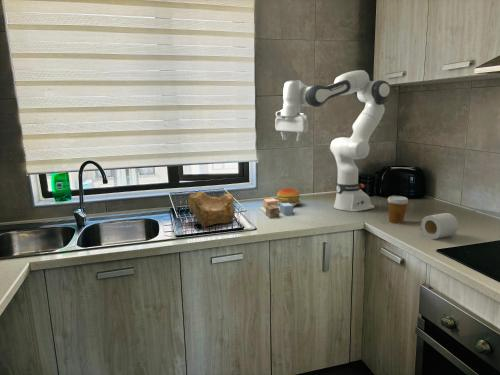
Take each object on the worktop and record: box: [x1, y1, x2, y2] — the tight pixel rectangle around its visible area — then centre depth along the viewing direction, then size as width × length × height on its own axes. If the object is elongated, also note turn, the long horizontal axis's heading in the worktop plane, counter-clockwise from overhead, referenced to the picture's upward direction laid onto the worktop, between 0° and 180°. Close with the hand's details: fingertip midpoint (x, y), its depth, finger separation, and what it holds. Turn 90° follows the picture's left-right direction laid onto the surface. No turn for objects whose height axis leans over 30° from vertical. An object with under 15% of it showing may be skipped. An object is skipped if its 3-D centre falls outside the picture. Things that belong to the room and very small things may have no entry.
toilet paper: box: [420, 212, 459, 240], centre depth 158 cm, size 10×10×10 cm
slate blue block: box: [279, 203, 294, 216], centre depth 197 cm, size 5×6×5 cm
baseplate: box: [258, 206, 280, 215], centre depth 203 cm, size 10×10×1 cm
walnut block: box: [265, 205, 280, 219], centre depth 192 cm, size 5×6×5 cm
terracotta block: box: [263, 197, 279, 209], centre depth 202 cm, size 6×6×5 cm
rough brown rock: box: [187, 191, 235, 228], centre depth 180 cm, size 23×17×15 cm
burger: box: [276, 187, 301, 207], centre depth 213 cm, size 13×14×10 cm
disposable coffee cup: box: [386, 195, 409, 224], centre depth 179 cm, size 10×10×12 cm
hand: (290, 140), depth 188 cm, fingers open, 8 cm apart
